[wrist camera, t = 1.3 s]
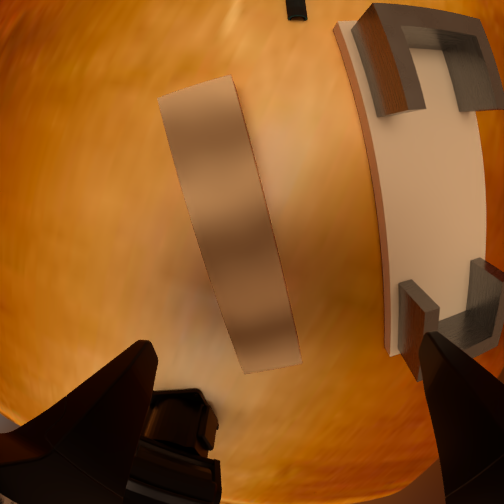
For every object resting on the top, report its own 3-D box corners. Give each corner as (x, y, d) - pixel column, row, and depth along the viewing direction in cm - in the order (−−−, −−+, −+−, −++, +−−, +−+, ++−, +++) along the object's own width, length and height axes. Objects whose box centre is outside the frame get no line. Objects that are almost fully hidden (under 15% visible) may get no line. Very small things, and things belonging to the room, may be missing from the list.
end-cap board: (469, 316, 23) (476, 323, 21) (384, 346, 24) (390, 356, 22) (440, 32, 14) (450, 27, 13) (332, 29, 15) (337, 21, 14)
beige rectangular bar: (297, 336, 24) (302, 363, 21) (245, 347, 24) (243, 374, 21) (235, 87, 18) (230, 74, 14) (173, 106, 18) (157, 98, 15)
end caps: (472, 319, 21) (497, 345, 17) (397, 348, 22) (417, 381, 18) (446, 34, 13) (479, 19, 9) (350, 29, 14) (372, 2, 10)
